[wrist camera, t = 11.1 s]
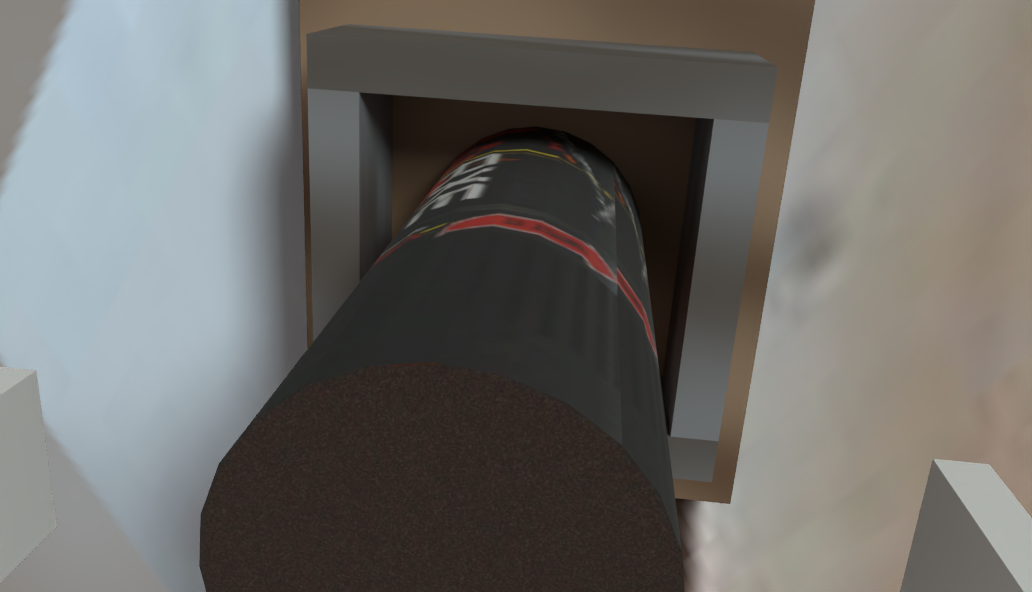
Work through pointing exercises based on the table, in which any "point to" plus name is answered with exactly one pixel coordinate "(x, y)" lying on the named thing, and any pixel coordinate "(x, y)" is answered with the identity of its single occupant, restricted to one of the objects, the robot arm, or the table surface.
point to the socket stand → (593, 118)
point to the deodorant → (470, 404)
